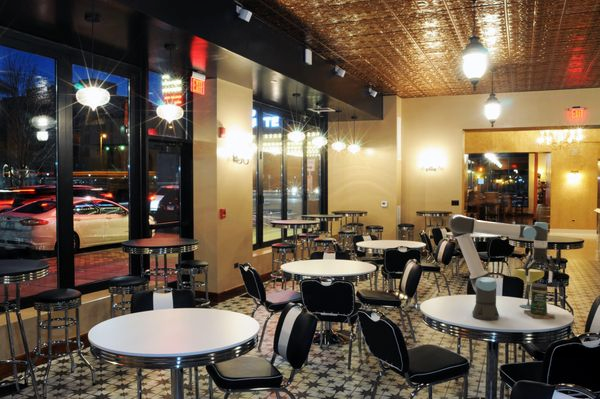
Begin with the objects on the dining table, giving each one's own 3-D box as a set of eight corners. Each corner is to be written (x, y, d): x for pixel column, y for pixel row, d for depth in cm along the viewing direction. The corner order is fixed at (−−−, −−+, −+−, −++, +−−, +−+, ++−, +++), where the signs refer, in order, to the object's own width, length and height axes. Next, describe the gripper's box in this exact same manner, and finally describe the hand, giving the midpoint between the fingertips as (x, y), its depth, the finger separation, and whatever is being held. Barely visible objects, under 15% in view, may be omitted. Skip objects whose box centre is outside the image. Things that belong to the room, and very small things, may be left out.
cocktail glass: (526, 310, 325) (527, 272, 325) (507, 304, 342) (508, 267, 342) (549, 309, 330) (550, 271, 329) (530, 303, 347) (531, 267, 347)
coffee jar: (529, 314, 312) (530, 284, 311) (530, 311, 319) (530, 282, 318) (547, 316, 308) (547, 285, 307) (547, 313, 315) (547, 283, 314)
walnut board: (532, 318, 307) (532, 315, 307) (523, 312, 320) (524, 310, 320) (554, 318, 307) (554, 315, 307) (544, 313, 320) (544, 310, 320)
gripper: (522, 247, 309) (521, 281, 310) (563, 248, 308) (562, 283, 309) (517, 245, 317) (516, 279, 317) (558, 247, 316) (556, 281, 316)
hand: (539, 281), depth 313 cm, fingers open, 13 cm apart
